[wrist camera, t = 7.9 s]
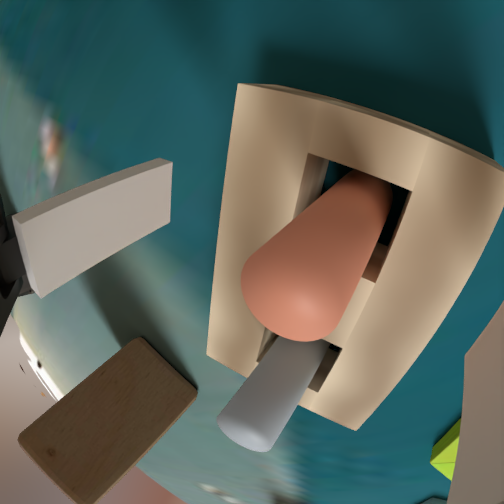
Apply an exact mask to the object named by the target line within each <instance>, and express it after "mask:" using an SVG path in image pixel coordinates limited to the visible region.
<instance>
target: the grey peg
mask: <svg viewBox="0 0 504 504" xmlns="http://www.w3.org/2000/svg"><path fill="white" fill-rule="evenodd" d="M330 344H331V343H330V342H328V341H326V340H324V339H319V340H315V341H308V342H303V341H294V340H290V339H287V338H284V337H282V336H279V337H278V338H277V339H276V341H275V342H274V343H273V345H272V346H271V348H270V349H269V350H268V352H267V353H266V354H265V356H264V357H263V358H262V360H261V361H260V362H259V364H258V365H257V366H256V368H255V369H254V370H253V372H252V373H251V374H250V376H249V377H248V378H247V380H246V381H245V382H244V383H243V385H242V386H241V387H240V389H239V390H238V391H237V392H236V394H235V395H234V396H233V398H232V399H231V400H230V401H229V403H228V404H227V405H226V406H225V408H224V409H223V410H222V411H221V413H220V414H219V415H218V416H217V424H218V426H219V427H220V429H221V430H222V431H223V432H224V433H225V434H226V435H227V436H228V437H229V438H230V439H232V440H233V441H234V442H236V443H238V444H239V445H241V446H243V447H245V448H248V449H250V450H253V451H258V452H266V451H269V450H270V449H271V448H272V446H273V444H274V443H275V441H276V440H277V438H278V436H279V435H280V433H281V432H282V430H283V428H284V427H285V425H286V423H287V422H288V420H289V418H290V417H291V415H292V413H293V412H294V410H295V408H296V406H297V405H298V403H299V401H300V399H301V398H302V396H303V394H304V392H305V391H306V389H307V387H308V385H309V383H310V382H311V380H312V378H313V376H314V374H315V372H316V371H317V369H318V367H319V365H320V363H321V361H322V359H323V357H324V355H325V353H326V352H327V350H328V348H329V346H330Z"/></svg>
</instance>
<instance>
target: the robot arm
mask: <svg viewBox="0 0 504 504" xmlns="http://www.w3.org/2000/svg"><path fill="white" fill-rule="evenodd" d="M172 163H173V162H171V161H167V160H164V159H161V158H157V159H154V160H151V161H148V162H145V163H142V164H139V165H136V166H133V167H130V168H127V169H124V170H121V171H119V172H116V173H113V174H110V175H107V176H105V177H102V178H99V179H97V180H94V181H92V182H89V183H86V184H84V185H81V186H79V187H76V188H74V189H71V190H69V191H66V192H64V193H62V194H59V195H57V196H55V197H52V198H50V199H48V200H45V201H43V202H41V203H38V204H36V205H34V206H32V207H30V208H27V209H25V210H23V211H21V212H19V213H17V214H15V215H12V214H11V215H9V216H6V217H5V212H4V207H3V202H2V197H1V194H0V336H1V334H2V331H3V329H4V326H5V324H6V321H7V319H8V317H9V315H10V312H11V310H12V308H13V306H14V303H15V301H16V299H17V297H19V296H24V295H27V294H33V293H35V292H36V293H37V295H38V296H39V297H40V298H42V297H44V296H45V295H47V294H49V293H50V292H52V291H53V290H55V289H56V288H58V287H60V286H61V285H63V284H64V283H66V282H68V281H69V280H71V279H72V278H74V277H76V276H77V275H79V274H81V273H82V272H84V271H86V270H87V269H89V268H91V267H92V266H94V265H96V264H97V263H99V262H101V261H102V260H104V259H106V258H107V257H109V256H111V255H112V254H114V253H116V252H118V251H119V250H121V249H123V248H125V247H126V246H128V245H130V244H131V243H133V242H135V241H137V240H139V239H140V238H142V237H144V236H146V235H147V234H149V233H151V232H153V231H155V230H156V229H158V228H160V227H162V226H164V225H166V224H167V223H169V222H170V205H171V181H172ZM447 504H504V301H503V303H502V304H501V306H500V307H499V309H498V310H497V312H496V313H495V315H494V316H493V318H492V319H491V321H490V322H489V324H488V325H487V326H486V328H485V329H484V331H483V332H482V333H481V335H480V336H479V337H478V339H477V340H476V341H475V343H474V344H473V345H472V347H471V348H470V349H469V351H468V352H467V353H466V354H465V370H464V392H463V406H462V417H461V426H460V435H459V442H458V449H457V455H456V461H455V467H454V472H453V477H452V482H451V487H450V491H449V496H448V500H447Z"/></svg>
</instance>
